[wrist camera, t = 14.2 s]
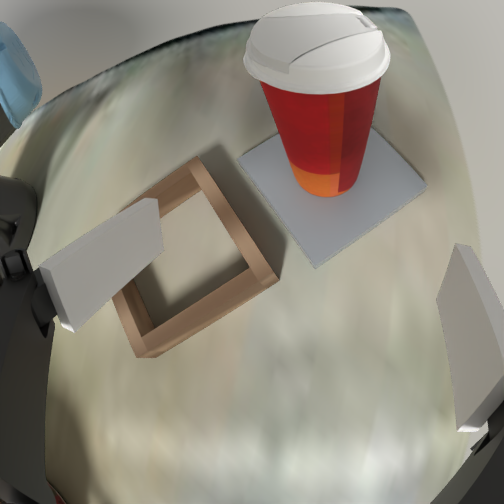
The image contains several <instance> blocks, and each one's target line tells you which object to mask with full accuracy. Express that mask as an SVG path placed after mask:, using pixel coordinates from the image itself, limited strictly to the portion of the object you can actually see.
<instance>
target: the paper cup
mask: <svg viewBox="0 0 504 504" xmlns="http://www.w3.org/2000/svg"><path fill="white" fill-rule="evenodd" d="M376 28H377V26H376V25H375V24H374V23H373V22H372V21H371V20H370V19H369V18H368V17H366V16H363V14H362V13H361V11H358V10H356V9H354V8H351V7H348V6H344V5H340V4H335V3H327V2H306V3H297V4H292V5H288V6H284V7H281V8H278V9H276V10H273V11H271V12H270V13H267V14H266V15H264V16H263V17H262V18H260V20H259V21H258V22H257V23H256V24H255V26H254V27H253V28H252V31H251V36H250V37H249V39H248V41H247V43H246V52H245V55H244V57H243V62H244V66H245V68H246V69H247V71H248V72H249V74H250V75H251V76H252V77H253V78H256V79H258V80H260V83H261V86H262V88H263V91H264V93H265V96H266V99H267V101H268V104H269V107H270V109H271V112H272V115H273V118H274V120H275V123H276V126H277V129H278V132H279V134H280V137H281V140H282V143H283V146H284V149H285V152H286V154H287V157H288V160H289V163H290V166H291V168H292V171H293V174H294V176H295V178H296V180H297V182H298V183H299V185H300V186H301V187H302V188H303V189H304V190H305V191H307V192H309V193H310V194H313V195H315V196H319V197H335V196H338V195H341V194H343V193H345V192H347V191H348V190H349V189H350V188H351V187H352V186H353V185H354V183H355V182H356V180H357V177H358V175H359V171H360V168H361V165H362V161H363V157H364V153H365V149H366V145H367V141H368V137H369V133H370V128H371V124H372V119H373V115H374V110H375V105H376V100H377V95H378V90H379V85H380V80H381V76H382V75H383V74H384V73H385V71H386V70H387V68H388V66H389V63H390V52H389V48H388V46H387V44H386V42H385V40H384V38H383V34H382V32H381V30H380V31H378V30H377V29H376Z"/></svg>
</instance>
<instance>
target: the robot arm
mask: <svg viewBox="0 0 504 504" xmlns="http://www.w3.org/2000/svg"><path fill="white" fill-rule="evenodd" d="M41 96H42V84H41V80H40V77H39V74H38V72H37V69H36V67H35V65H34V63H33V61H32V59H31V57H30V56H29V54H28V52H27V50H26V48H25V47H24V45H23V44H22V43H21V41H20V39H19V38H18V36H17V35H16V34H15V33H14V31H13V30H12V29H11V28H9V27H8V26H7V25H6V24H5V23H4V22H0V148H1V146H2V145H3V144H4V143H5V142H6V140H7V139H8V138H9V137H10V136H11V135H12V134H13V133H14V131H15V130H16V129H19V128H20V127H21V125H22V122H23V121H24V120H25V118H26V117H27V116H28V115H29V114H30V113H31V112H32V111H33V109H34V108H35V107H36V106H37V105H38V103H39V102H40V99H41ZM36 211H37V198H36V193H35V191H34V189H33V187H32V186H30V185H29V184H27V183H26V182H24V181H23V180H21V179H18V178H10V177H5V176H1V175H0V499H2V500H4V501H5V502H6V503H1V504H56V499H55V496H54V494H53V491H52V490H51V488H50V486H49V485H48V483H47V480H46V476H45V409H46V394H47V382H48V373H49V364H50V356H51V349H52V342H53V336H54V330H55V323H54V321H53V318H54V317H55V316H56V315H58V318H59V320H60V322H61V324H62V327H64V328H66V329H68V330H70V331H72V332H74V333H75V332H76V331H77V330H78V329H79V328H80V327H81V326H82V325H83V324H84V323H85V322H86V321H87V320H88V319H89V318H91V317H92V316H93V315H94V314H95V313H96V312H97V311H98V310H99V309H100V308H101V307H102V306H103V305H104V304H105V303H106V302H108V301H109V300H110V299H111V298H112V297H113V296H114V295H115V294H116V293H117V292H118V291H119V290H120V289H122V288H123V287H124V286H125V285H126V284H127V283H128V282H129V281H130V280H131V279H133V278H134V277H135V276H136V275H137V274H138V273H139V272H140V271H142V270H143V269H144V268H145V267H146V266H147V265H148V264H149V263H151V262H152V261H153V260H154V259H155V258H156V257H157V256H159V255H160V254H161V253H162V252H163V251H164V246H163V239H162V232H161V224H160V216H159V208H158V199H152V198H144V199H142V200H140V201H138V202H137V203H135V204H133V205H131V206H130V207H128V208H126V209H125V210H123V211H121V212H120V213H118V214H116V215H115V216H113V217H111V218H110V219H108V220H107V221H105V222H103V223H102V224H100V225H98V226H97V227H95V228H94V229H92V230H91V231H89V232H87V233H86V234H84V235H83V236H81V237H80V238H78V239H77V240H75V241H74V242H72V243H71V244H69V245H68V246H66V247H65V248H63V249H62V250H60V251H59V252H57V253H56V254H54V255H53V256H51V257H50V258H49V259H47V260H46V261H44V262H43V263H42V264H40V265H39V268H38V269H36V270H35V271H33V269H32V266H31V263H30V260H29V257H28V254H27V251H26V248H27V246H28V243H29V241H30V238H31V235H32V232H33V228H34V224H35V218H36ZM436 301H437V305H438V309H439V314H440V318H441V323H442V327H443V332H444V337H445V342H446V348H447V353H448V359H449V365H450V372H451V379H452V386H453V394H454V403H455V414H456V427H457V431H461V432H472V431H473V432H477V431H478V430H479V429H480V428H481V427H482V425H483V424H484V423H485V422H486V421H488V428H489V431H488V432H487V433H486V434H485V435H484V436H483V437H482V438H481V439H480V440H479V441H478V442H477V443H476V444H475V445H474V446H473V447H472V448H471V450H473V452H472V453H471V454H470V456H469V457H468V459H467V460H466V461H465V463H464V464H463V465H462V467H461V468H460V469H459V470H458V472H457V473H456V474H455V475H454V477H453V478H452V479H451V480H450V482H449V483H448V484H447V485H446V486H445V488H444V489H443V490H442V491H441V492H440V493H439V494H438V496H437V497H436V498H435V499H434V500H433V501H432V502H431V503H430V504H504V310H503V307H502V305H501V303H500V301H499V299H498V297H497V295H496V292H495V291H494V289H493V287H492V284H491V283H490V281H489V279H488V277H487V275H486V273H485V271H484V269H483V267H482V265H481V264H480V262H479V260H478V258H477V256H476V255H475V253H474V251H473V249H472V248H471V246H466V245H462V244H457V243H455V246H454V249H453V252H452V255H451V259H450V262H449V265H448V268H447V271H446V274H445V277H444V279H443V282H442V285H441V288H440V290H439V293H438V296H437V298H436Z"/></svg>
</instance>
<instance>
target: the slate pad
mask: <svg viewBox="0 0 504 504" xmlns="http://www.w3.org/2000/svg"><path fill="white" fill-rule="evenodd" d="M237 160H238V162H239V164H240V166H241V167H242V169H243V170H244V171H245V173H246V174H247V175H248V177H249V178H250V179H251V181H252V182H253V183H254V185H255V186H256V187H257V189H258V190H259V191H260V193H261V194H262V195H263V197H264V198H265V200H266V201H267V202H268V204H269V205H270V206H271V208H272V209H273V210H274V212H275V213H276V215H277V216H278V217H279V219H280V220H281V222H282V223H283V224H284V226H285V227H286V229H287V230H288V231H289V233H290V234H291V236H292V237H293V238H294V240H295V241H296V243H297V244H298V245H299V247H300V248H301V250H302V251H303V253H304V254H305V255H306V257H307V258H308V260H309V261H310V263H311V264H312V265H313V267H314V268H315V269H316V268H317V267H319V266H320V265H322V264H323V263H325V262H326V261H327V260H329V259H330V258H332V257H333V256H335V255H336V254H338V253H339V252H341V251H342V250H343V249H345V248H346V247H348V246H349V245H351V244H352V243H354V242H355V241H356V240H358V239H359V238H361V237H362V236H363V235H365V234H366V233H368V232H369V231H371V230H372V229H373V228H375V227H376V226H378V225H379V224H380V223H382V222H383V221H384V220H386V219H387V218H389V217H390V216H391V215H393V214H394V213H396V212H397V211H398V210H400V209H401V208H402V207H404V206H405V205H406V204H408V203H409V202H410V201H412V200H413V199H414V198H416V197H417V196H418V195H420V194H421V193H422V192H424V191H425V189H426V187H427V184H426V183H425V182H424V181H423V180H422V179H421V177H420V176H419V175H418V174H417V173H416V172H415V171H414V170H413V169H412V168H411V166H410V165H409V164H408V163H407V162H406V161H405V160H404V159H403V158H402V157H401V156H400V155H399V154H398V153H397V152H396V151H395V150H394V149H393V148H392V147H391V145H390V144H389V143H388V142H387V141H386V140H384V139H383V138H382V137H381V136H380V135H379V134H378V133H377V132H376V131H375V130H374V129H373V128H372V127H371V128H370V133H369V137H368V141H367V145H366V149H365V153H364V157H363V161H362V165H361V168H360V171H359V175H358V177H357V180H356V182H355V183H354V185H353V186H352V187H351V188H350V189H349V190H348V191H347V192H345V193H343V194H341V195H338V196H335V197H319V196H315V195H313V194H310V193H309V192H307V191H305V190H304V189H303V188H302V187H301V186H300V185H299V183H298V182H297V180H296V178H295V176H294V174H293V171H292V168H291V166H290V163H289V160H288V157H287V154H286V152H285V149H284V146H283V143H282V140H281V137H280V134H277V135H275V136H273V137H272V138H270V139H268V140H267V141H265V142H263V143H262V144H260V145H259V146H257V147H255V148H254V149H252V150H250V151H249V152H247V153H246V154H244V155H242V156H241V157H239V158H238V159H237Z"/></svg>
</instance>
